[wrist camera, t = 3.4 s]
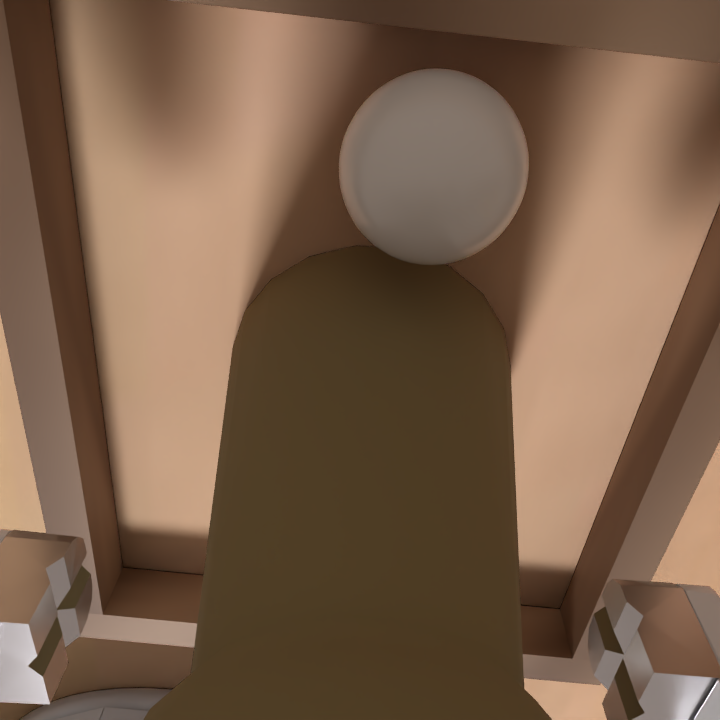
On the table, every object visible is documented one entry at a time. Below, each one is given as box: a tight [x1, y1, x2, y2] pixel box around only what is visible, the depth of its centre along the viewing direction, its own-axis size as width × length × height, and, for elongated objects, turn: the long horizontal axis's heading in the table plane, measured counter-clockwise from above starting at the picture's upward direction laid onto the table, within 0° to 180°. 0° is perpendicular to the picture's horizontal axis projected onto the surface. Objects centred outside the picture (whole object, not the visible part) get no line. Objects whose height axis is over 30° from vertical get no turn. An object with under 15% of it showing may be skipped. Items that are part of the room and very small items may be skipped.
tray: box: [0, 0, 720, 685], centre depth 14 cm, size 14×16×2 cm
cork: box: [144, 246, 552, 720], centre depth 10 cm, size 6×6×11 cm
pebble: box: [339, 68, 529, 265], centre depth 11 cm, size 3×3×3 cm
